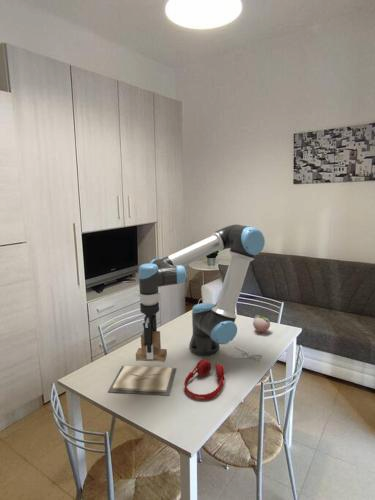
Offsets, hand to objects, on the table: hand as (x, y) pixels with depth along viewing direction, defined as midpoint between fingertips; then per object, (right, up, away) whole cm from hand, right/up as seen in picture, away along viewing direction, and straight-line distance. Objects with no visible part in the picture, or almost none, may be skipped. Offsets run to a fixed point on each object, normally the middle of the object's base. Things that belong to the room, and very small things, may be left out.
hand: (151, 355), depth 137 cm
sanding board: (-4, -12, +3) cm, 12 cm away
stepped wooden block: (0, -1, 0) cm, 1 cm away
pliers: (+43, -7, +21) cm, 49 cm away
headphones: (+22, -12, -2) cm, 26 cm away
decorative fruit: (+56, -2, +44) cm, 71 cm away
